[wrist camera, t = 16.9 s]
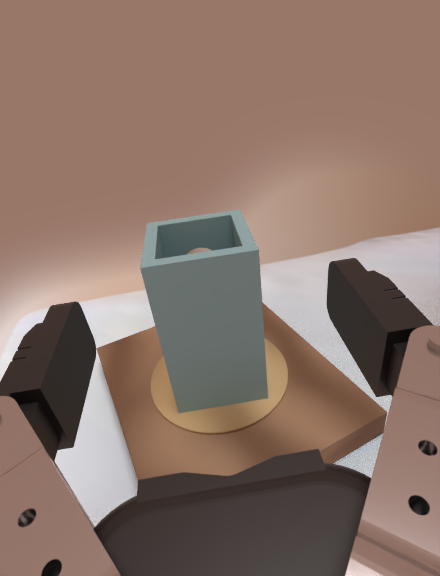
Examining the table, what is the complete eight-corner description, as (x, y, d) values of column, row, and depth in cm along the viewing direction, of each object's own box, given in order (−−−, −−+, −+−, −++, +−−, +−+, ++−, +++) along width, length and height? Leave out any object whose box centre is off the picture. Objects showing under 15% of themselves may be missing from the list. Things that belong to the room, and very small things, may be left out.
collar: (251, 340, 29) (240, 209, 24) (268, 398, 24) (258, 249, 19) (177, 352, 29) (147, 223, 23) (178, 413, 24) (140, 268, 18)
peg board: (250, 307, 37) (240, 187, 31) (383, 432, 24) (415, 268, 17) (103, 365, 32) (53, 238, 26) (166, 563, 19) (97, 403, 13)
